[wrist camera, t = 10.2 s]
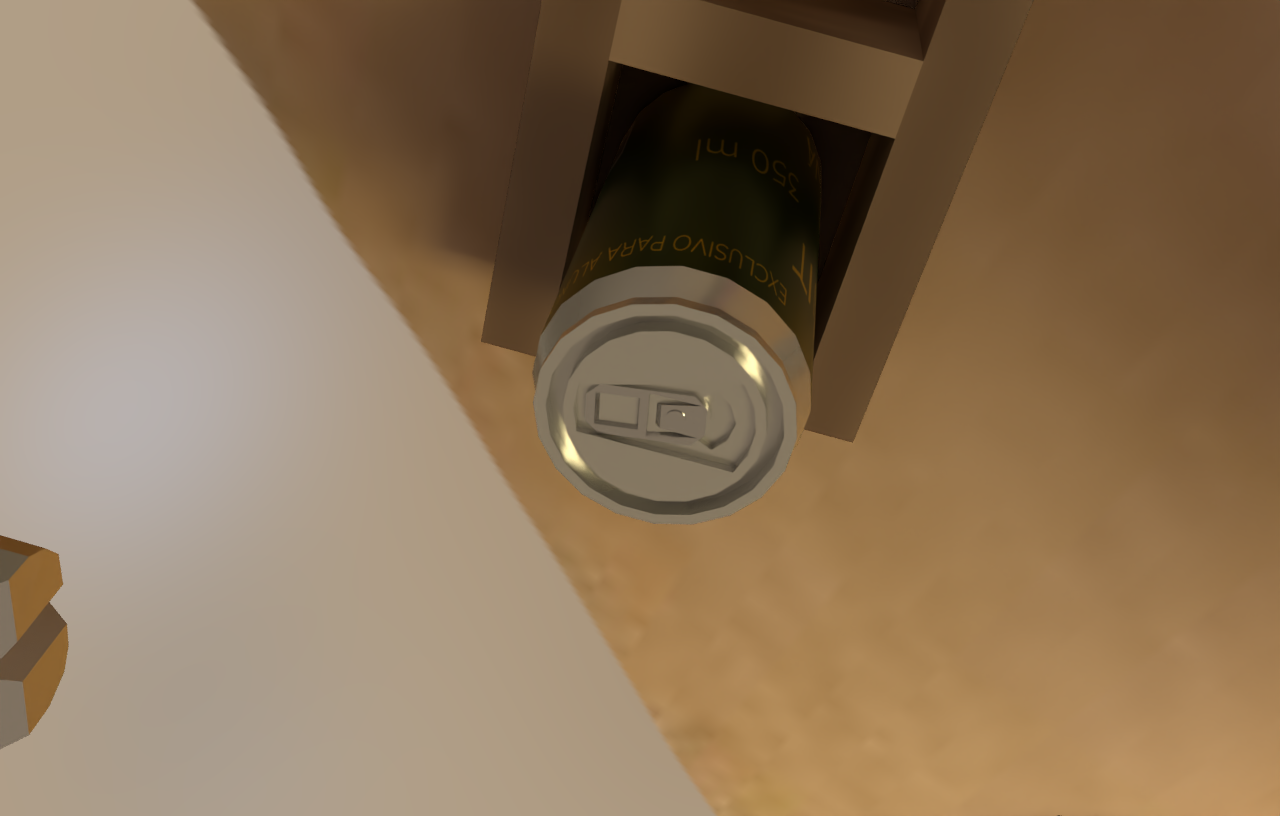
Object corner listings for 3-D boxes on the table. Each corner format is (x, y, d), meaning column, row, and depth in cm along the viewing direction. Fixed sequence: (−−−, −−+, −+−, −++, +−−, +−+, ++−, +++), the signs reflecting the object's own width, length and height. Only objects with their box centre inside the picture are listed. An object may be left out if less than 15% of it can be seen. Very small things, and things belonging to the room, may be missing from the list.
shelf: (1133, -358, 25) (1176, -350, 22) (852, 362, 35) (852, 442, 32) (660, -489, 25) (631, -502, 22) (515, 271, 35) (481, 341, 32)
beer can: (614, 247, 34) (519, 513, 24) (626, 57, 31) (523, 272, 21) (807, 271, 34) (789, 552, 24) (838, 81, 31) (832, 312, 21)
